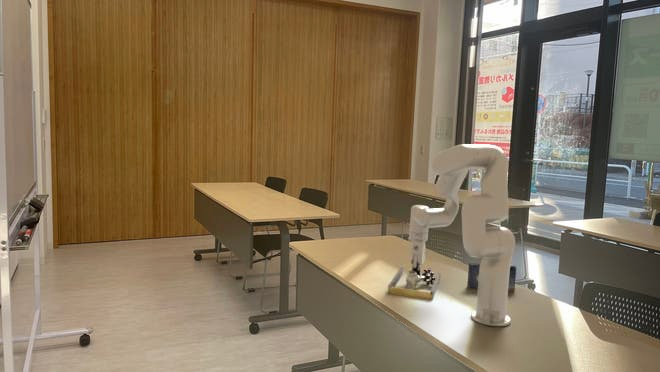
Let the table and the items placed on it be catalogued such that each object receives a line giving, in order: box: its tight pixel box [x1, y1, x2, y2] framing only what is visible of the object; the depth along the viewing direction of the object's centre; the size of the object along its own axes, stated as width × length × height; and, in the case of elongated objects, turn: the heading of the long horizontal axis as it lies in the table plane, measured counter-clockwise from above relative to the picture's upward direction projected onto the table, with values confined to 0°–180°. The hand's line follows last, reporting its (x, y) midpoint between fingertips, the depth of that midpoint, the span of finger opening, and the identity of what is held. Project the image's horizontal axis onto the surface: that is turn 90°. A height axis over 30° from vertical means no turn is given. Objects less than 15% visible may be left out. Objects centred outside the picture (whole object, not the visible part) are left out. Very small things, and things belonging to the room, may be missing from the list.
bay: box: [387, 266, 442, 301], centre depth 200 cm, size 28×17×3 cm, turn 162°
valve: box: [405, 268, 436, 290], centre depth 198 cm, size 7×7×12 cm
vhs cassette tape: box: [466, 262, 517, 292], centre depth 199 cm, size 18×3×10 cm, turn 84°
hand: (415, 279), depth 204 cm, fingers closed
